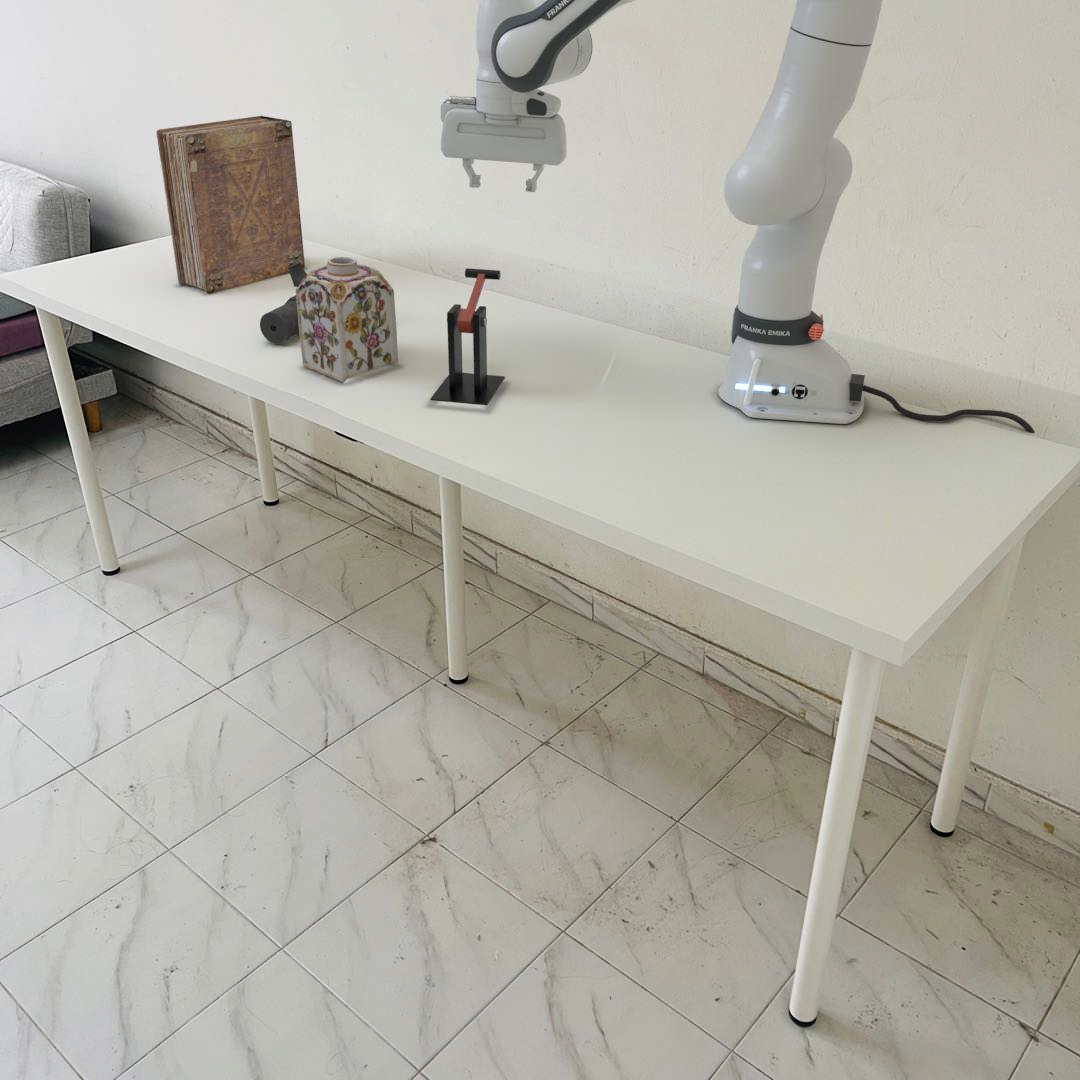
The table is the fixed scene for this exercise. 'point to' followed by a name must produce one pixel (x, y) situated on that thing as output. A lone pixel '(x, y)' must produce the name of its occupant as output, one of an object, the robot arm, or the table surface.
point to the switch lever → (474, 297)
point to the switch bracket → (458, 383)
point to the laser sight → (284, 313)
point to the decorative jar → (346, 319)
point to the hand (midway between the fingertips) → (502, 189)
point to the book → (231, 201)
